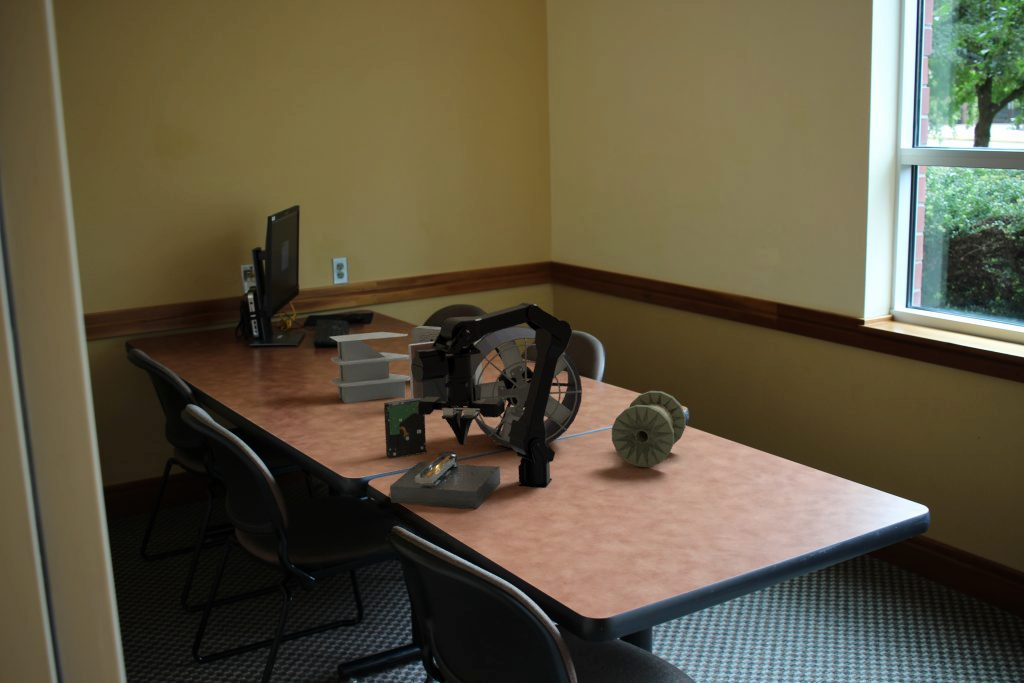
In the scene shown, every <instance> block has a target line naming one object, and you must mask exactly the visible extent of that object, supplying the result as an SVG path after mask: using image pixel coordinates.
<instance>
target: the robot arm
mask: <svg viewBox="0 0 1024 683" xmlns="http://www.w3.org/2000/svg"><path fill="white" fill-rule="evenodd" d="M523 324H526V325H527V327H529V328H531V329H533V330H534V331H536V333H535V339H534V344H536V346H535V349H536V352H537V353H536V354H537V356H536V358H535V363H534V367H533V371H532V372H533V375H532V379H531V383H530V388H529V392H528V396H527V400H526V404H525V408H523V410H524V412H523V415H522V416H521V417H520V419H519V420H518V421H516V420H512V423H511V430H510V433H509V434H508V436H509V437H510V440H509V442H510V445H511V447H512V448H511V449H512V450H513V451H515V454H516V457H520V458H521V459H520V460H519V461H520V462H519V463H520V464H519V465H518V483H519V484H518V486H519V487H525V488H541V489H542V488H543V489H546V488H547V487H548V486H549V485H550V483H551V482H552V481H553V479H552V478H551V469H550V468H551V467H550V463H552V462H554V459H555V455H556V452H555V451H554V450H553V449H552V448H551V447H549V446H548V444H545V442H546V429H545V424H544V421H545V416H544V415H545V411H546V407H547V403H548V399H549V395H550V396H551V394H550V392H551V390H552V387H553V386H552V383H554V382H553V381H554V379H555V378H554V374H555V370H556V365H557V361H558V359H559V357H560V356H561V355H562V354H563V352H566V350H567V348H568V346H569V343H570V340H572V339H571V338H572V335H573V329H572V327H571V325H570V323H569V322H568V321H566V320H564V319H559V318H557V317H555V316H554V315H552V314H550V313H548V312H547V311H545V310H543V308H541V307H539V306H538V305H537V304H535V303H530V302H522V303H519V304H517V305H514V306H510V307H506V308H502V309H499V310H496V311H491V312H488V313H485V314H482V315H477V316H455V317H448V318H446V319H445V320H443V323H442V324H441V330H440V333H439V335H438V336H437V338H436V340H435V341H434V343H433V345H432V347H431V349H429V350H416V351H415V357H414V358H413V360H412V364H411V371H412V375H413V377H414V379H415V381H416V382H424V381H431V380H437V379H443V378H444V377H445V375H446V380H447V382H445V387H447V401H446V402H442V399H441V397H425V398H424V399H422V400H421V401H419V402H418V404H417V414H422V415H427V416H428V415H429V416H430V415H431V414H433V412H434V411H442V416H441V420H445V421H446V422H447V424H448V425H449V427H450V428H451V430H452V432H453V435H455V438H456V440H457V442H458V444H459V446H464V445H465V444H466V441H467V438H468V433H469V431H470V428H471V426H472V423H473V420H474V421H475V418H476V417H477V418H478V416H479V415H481V417H482V418H498V417H499V418H500V415H501V416H502V414H504V412H505V409H506V406H505V404H504V402H503V401H502V399H486V400H485V401H484V402H482V403H474V401H477V400H480V399H481V386H479V385H475V380H474V378H473V377H472V355H474V354H480V353H481V351H480V350H479V349H477V348H476V347H475V346H474V344H473V343H475V342H477V341H478V340H480V339H482V338H483V337H484V336H486V335H488V334H489V333H492V332H495V331H499V330H502V329H506V328H509V327H513V326H519V325H523ZM447 343H449V344H451V345H446V344H447ZM553 378H554V379H553ZM453 406H457V407H453Z"/></svg>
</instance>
